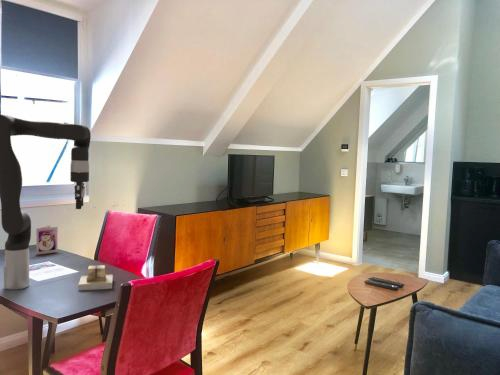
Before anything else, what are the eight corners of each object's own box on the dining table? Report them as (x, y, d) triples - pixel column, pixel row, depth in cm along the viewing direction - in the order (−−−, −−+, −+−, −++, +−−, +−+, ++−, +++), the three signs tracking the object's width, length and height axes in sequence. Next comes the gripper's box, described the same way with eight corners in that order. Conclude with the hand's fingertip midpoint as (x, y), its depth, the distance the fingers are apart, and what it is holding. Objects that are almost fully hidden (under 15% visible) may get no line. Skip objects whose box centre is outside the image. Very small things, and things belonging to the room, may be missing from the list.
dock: (78, 290, 179) (78, 284, 179) (81, 281, 191) (81, 276, 191) (112, 288, 184) (112, 282, 183) (112, 280, 195) (112, 274, 195)
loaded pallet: (86, 282, 183) (86, 268, 183) (87, 278, 188) (87, 265, 188) (105, 281, 186) (105, 268, 185) (105, 277, 190) (106, 264, 190)
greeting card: (36, 254, 234) (36, 229, 233) (33, 252, 239) (33, 227, 238) (57, 252, 242) (57, 227, 240) (53, 249, 247) (53, 225, 246)
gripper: (72, 169, 184) (72, 205, 186) (68, 171, 171) (68, 210, 172) (90, 170, 187) (90, 205, 188) (87, 172, 173) (87, 210, 174)
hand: (79, 207), depth 180 cm, fingers open, 8 cm apart
